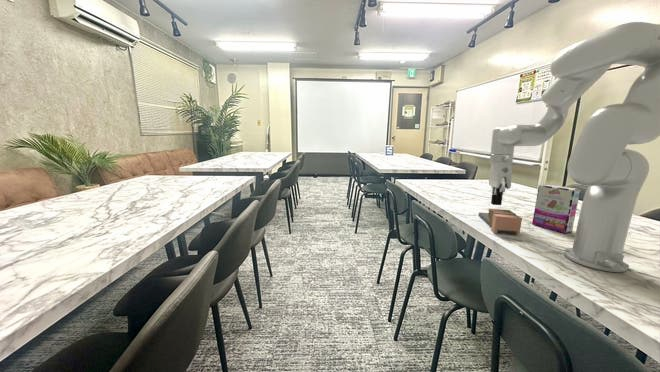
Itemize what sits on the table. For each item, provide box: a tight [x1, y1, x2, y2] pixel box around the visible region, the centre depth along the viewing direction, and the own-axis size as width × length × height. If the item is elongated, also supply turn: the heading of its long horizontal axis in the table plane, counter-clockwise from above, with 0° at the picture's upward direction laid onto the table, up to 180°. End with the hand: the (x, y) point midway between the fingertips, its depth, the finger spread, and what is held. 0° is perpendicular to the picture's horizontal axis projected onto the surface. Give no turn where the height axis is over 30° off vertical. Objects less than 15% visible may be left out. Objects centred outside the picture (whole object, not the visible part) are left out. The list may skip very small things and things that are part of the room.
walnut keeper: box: [487, 208, 517, 224], centre depth 97 cm, size 6×7×5 cm
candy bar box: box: [532, 184, 581, 234], centre depth 97 cm, size 11×5×16 cm, turn 25°
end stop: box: [490, 214, 523, 237], centre depth 92 cm, size 3×8×6 cm, turn 76°
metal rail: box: [478, 212, 517, 236], centre depth 102 cm, size 22×6×2 cm, turn 166°
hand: (496, 204), depth 103 cm, fingers closed
